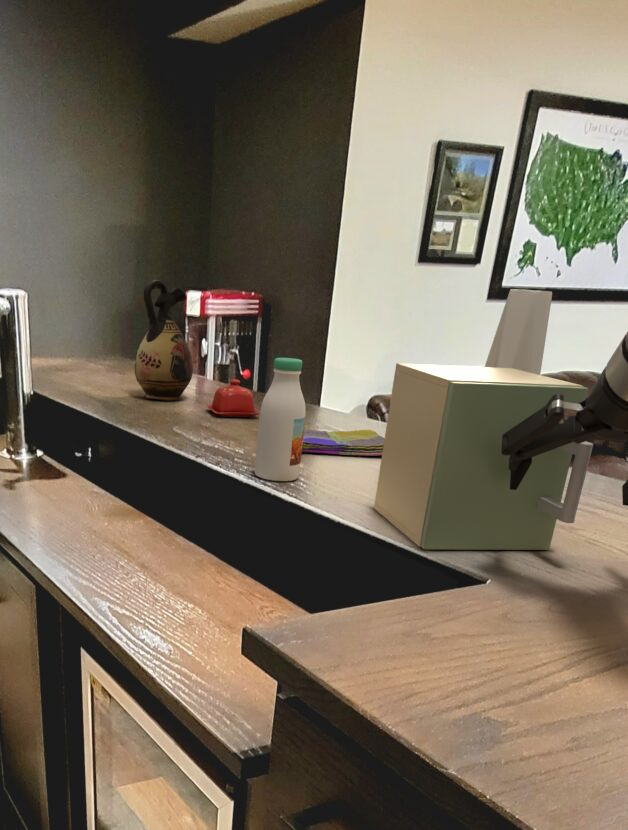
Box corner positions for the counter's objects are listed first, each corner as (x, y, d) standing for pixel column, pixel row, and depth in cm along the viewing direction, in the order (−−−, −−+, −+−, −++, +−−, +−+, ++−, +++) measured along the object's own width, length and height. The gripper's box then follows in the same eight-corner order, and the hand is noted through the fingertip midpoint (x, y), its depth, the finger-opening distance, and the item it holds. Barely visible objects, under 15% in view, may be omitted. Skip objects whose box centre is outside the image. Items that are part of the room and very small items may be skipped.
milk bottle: (275, 484, 120) (288, 362, 113) (244, 473, 125) (255, 356, 119) (308, 479, 124) (322, 361, 118) (276, 468, 130) (288, 355, 123)
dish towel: (263, 433, 158) (264, 421, 157) (373, 439, 158) (375, 427, 157) (274, 452, 141) (275, 439, 140) (397, 459, 142) (399, 445, 141)
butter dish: (204, 409, 181) (206, 374, 178) (248, 410, 183) (251, 376, 180) (214, 418, 170) (217, 382, 168) (261, 419, 173) (265, 383, 170)
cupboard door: (577, 567, 91) (621, 396, 84) (445, 567, 89) (479, 390, 82) (544, 547, 98) (583, 386, 91) (420, 546, 95) (449, 381, 88)
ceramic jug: (169, 392, 203) (175, 280, 193) (202, 401, 191) (210, 283, 182) (117, 394, 193) (120, 277, 184) (148, 405, 182) (154, 280, 172)
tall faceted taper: (445, 472, 134) (479, 287, 123) (471, 463, 142) (505, 288, 131) (511, 488, 126) (553, 291, 116) (535, 477, 134) (577, 293, 123)
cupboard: (544, 548, 98) (583, 385, 91) (419, 547, 95) (449, 380, 88) (483, 510, 113) (512, 368, 106) (373, 508, 110) (396, 363, 103)
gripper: (510, 396, 72) (463, 499, 91) (792, 428, 67) (679, 530, 86) (514, 338, 75) (467, 449, 94) (783, 364, 70) (676, 476, 89)
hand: (568, 488), depth 90 cm, fingers open, 12 cm apart
